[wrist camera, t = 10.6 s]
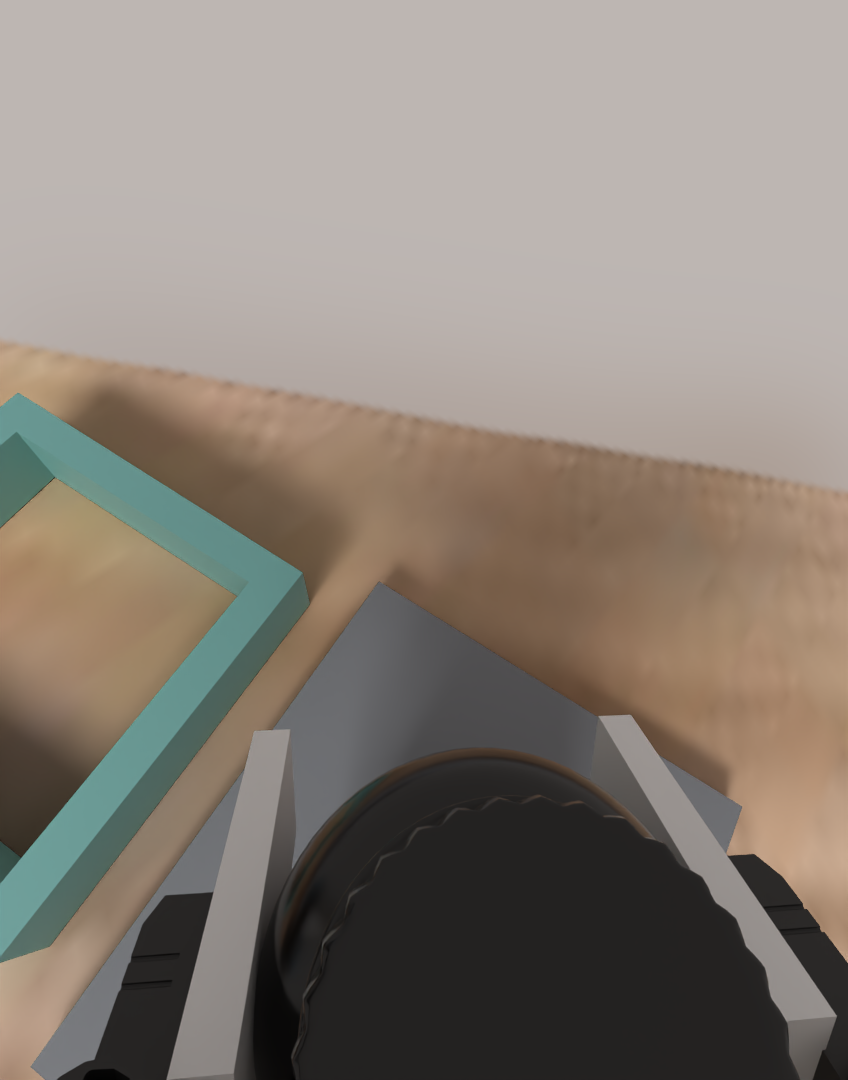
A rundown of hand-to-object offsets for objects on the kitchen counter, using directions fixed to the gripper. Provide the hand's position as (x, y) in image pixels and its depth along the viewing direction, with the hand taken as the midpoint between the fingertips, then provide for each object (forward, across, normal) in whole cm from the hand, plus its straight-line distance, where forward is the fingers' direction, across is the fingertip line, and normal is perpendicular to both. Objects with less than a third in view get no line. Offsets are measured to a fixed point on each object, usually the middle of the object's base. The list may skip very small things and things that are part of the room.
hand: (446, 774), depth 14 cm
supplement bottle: (+1, 0, -6) cm, 6 cm away
